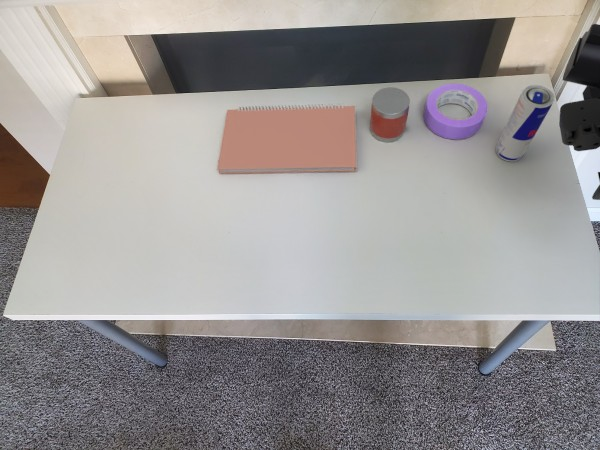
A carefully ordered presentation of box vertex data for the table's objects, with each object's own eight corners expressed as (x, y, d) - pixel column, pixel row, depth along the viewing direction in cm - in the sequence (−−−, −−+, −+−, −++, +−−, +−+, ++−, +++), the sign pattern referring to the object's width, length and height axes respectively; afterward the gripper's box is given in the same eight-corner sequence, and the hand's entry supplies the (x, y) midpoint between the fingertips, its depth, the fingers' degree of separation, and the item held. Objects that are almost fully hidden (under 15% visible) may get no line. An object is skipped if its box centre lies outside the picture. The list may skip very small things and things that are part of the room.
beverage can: (520, 166, 83) (553, 109, 71) (492, 160, 85) (519, 102, 72) (524, 146, 86) (557, 87, 73) (496, 140, 87) (524, 80, 74)
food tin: (405, 117, 92) (410, 87, 85) (404, 143, 89) (409, 115, 82) (371, 115, 93) (373, 86, 86) (368, 141, 90) (370, 113, 83)
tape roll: (478, 96, 93) (483, 82, 90) (486, 139, 87) (492, 126, 84) (421, 97, 94) (424, 83, 91) (425, 140, 89) (428, 127, 85)
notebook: (354, 108, 94) (355, 101, 93) (356, 172, 86) (356, 165, 84) (229, 111, 97) (227, 105, 95) (219, 174, 89) (217, 168, 87)
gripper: (570, 41, 59) (527, 123, 72) (593, 152, 50) (540, 222, 63) (663, 44, 57) (601, 126, 71) (705, 159, 48) (625, 229, 62)
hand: (590, 173), depth 67 cm, fingers open, 9 cm apart
